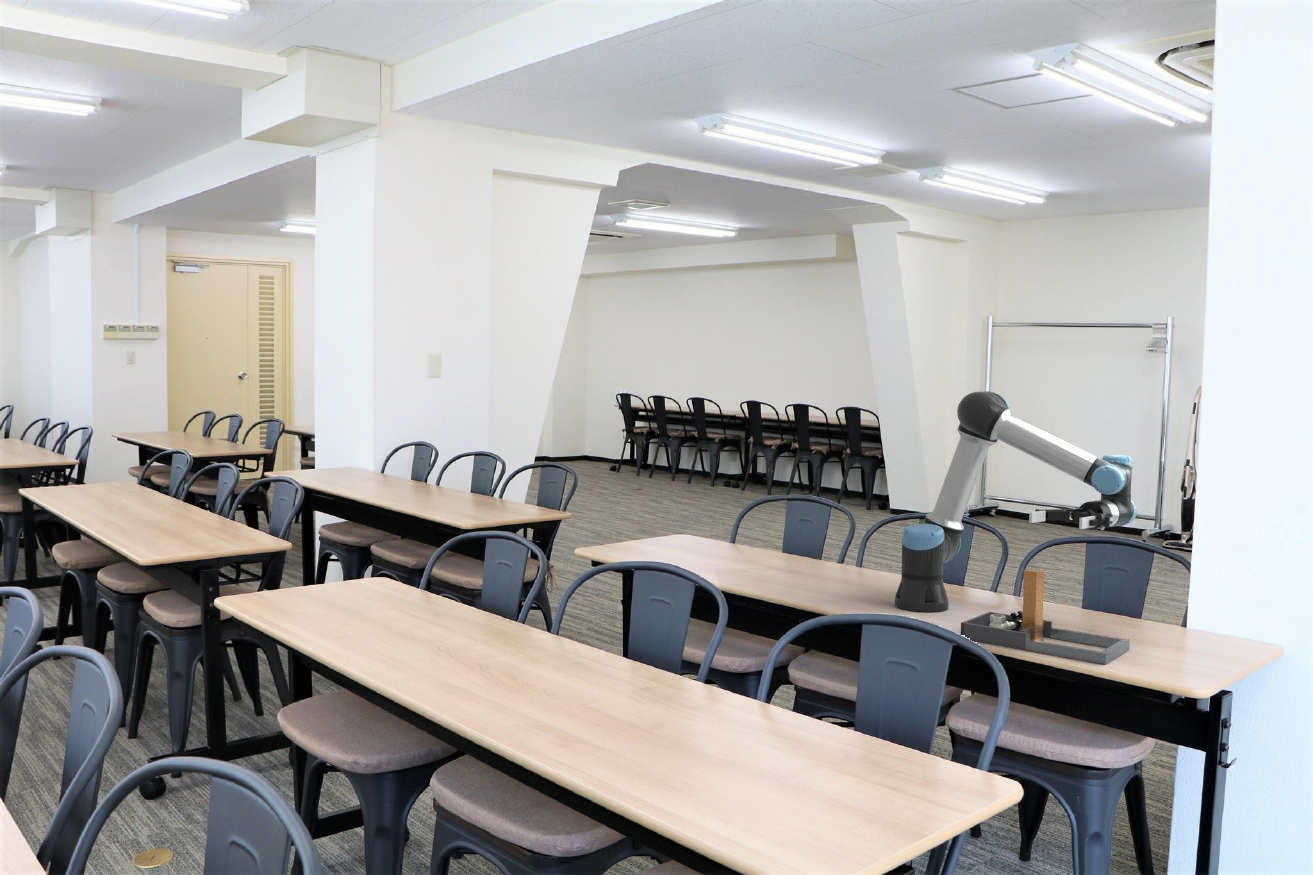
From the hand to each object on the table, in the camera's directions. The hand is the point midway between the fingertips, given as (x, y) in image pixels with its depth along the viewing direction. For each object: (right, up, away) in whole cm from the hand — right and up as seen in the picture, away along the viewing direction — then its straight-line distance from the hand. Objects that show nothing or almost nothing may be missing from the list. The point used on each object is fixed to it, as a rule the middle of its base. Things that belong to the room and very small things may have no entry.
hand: (1055, 520), depth 252 cm
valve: (-13, -30, -2) cm, 33 cm away
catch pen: (-13, -30, -1) cm, 32 cm away
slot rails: (0, -30, -12) cm, 33 cm away
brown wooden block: (-8, -30, -5) cm, 31 cm away
